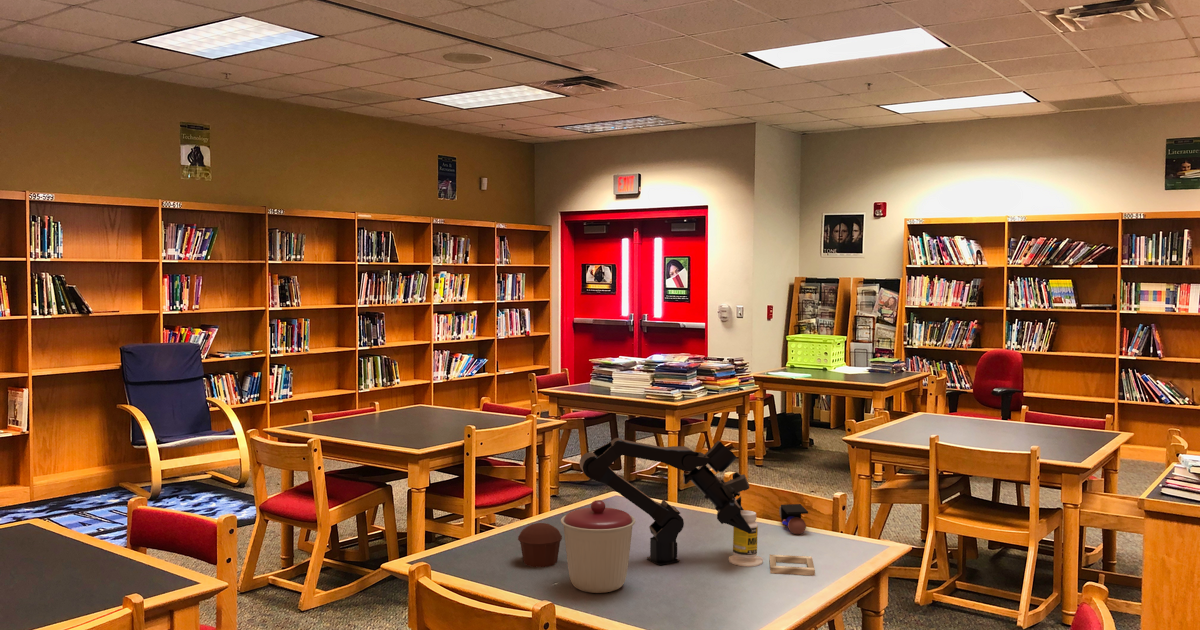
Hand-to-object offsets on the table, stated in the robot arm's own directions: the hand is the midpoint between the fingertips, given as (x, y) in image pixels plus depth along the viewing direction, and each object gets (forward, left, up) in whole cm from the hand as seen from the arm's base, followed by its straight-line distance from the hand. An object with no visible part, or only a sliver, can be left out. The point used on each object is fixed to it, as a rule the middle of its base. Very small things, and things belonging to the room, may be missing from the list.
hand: (750, 528), depth 240 cm
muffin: (-49, +27, -9) cm, 56 cm away
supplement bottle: (-1, +1, -7) cm, 7 cm away
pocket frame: (+6, -9, -9) cm, 14 cm away
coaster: (-1, +1, -9) cm, 9 cm away
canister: (-45, +3, -9) cm, 46 cm away
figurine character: (+31, +19, -9) cm, 38 cm away
